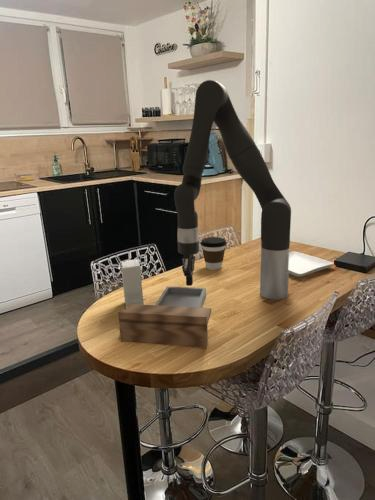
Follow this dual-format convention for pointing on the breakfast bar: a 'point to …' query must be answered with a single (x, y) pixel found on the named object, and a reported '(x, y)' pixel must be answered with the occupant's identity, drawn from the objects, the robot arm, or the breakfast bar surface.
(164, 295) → the slate tray
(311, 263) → the salad plate
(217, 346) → the breakfast bar surface
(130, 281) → the skincare box
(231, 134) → the robot arm
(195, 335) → the walnut cantilever shelf
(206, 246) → the coffee cup
